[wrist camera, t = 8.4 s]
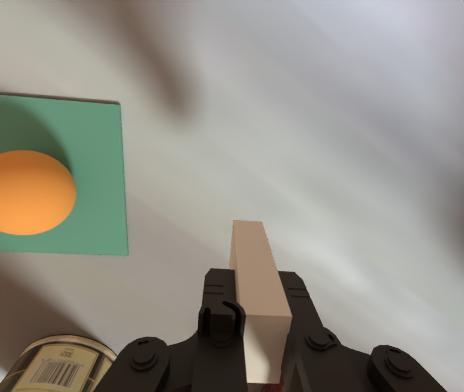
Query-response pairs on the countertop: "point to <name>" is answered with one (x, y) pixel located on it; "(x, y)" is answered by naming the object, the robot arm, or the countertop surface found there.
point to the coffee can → (59, 366)
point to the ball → (33, 192)
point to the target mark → (73, 171)
